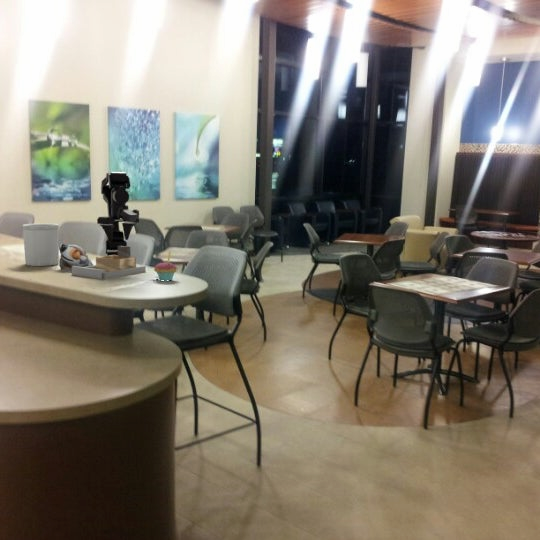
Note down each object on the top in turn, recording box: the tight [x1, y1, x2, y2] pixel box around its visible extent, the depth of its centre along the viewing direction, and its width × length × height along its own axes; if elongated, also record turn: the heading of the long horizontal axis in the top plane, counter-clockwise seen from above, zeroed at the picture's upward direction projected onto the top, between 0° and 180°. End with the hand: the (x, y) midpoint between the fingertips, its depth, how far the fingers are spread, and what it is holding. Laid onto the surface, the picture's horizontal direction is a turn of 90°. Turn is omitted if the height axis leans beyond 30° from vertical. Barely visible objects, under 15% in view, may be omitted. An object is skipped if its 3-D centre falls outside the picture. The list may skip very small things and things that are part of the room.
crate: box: [95, 245, 137, 272], centre depth 236 cm, size 11×12×10 cm
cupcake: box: [153, 250, 178, 282], centre depth 227 cm, size 9×8×12 cm
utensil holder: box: [21, 223, 60, 267], centre depth 258 cm, size 15×15×18 cm
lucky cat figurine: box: [58, 243, 94, 271], centre depth 243 cm, size 15×12×14 cm
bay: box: [71, 264, 147, 280], centre depth 233 cm, size 23×17×4 cm
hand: (118, 240), depth 243 cm, fingers open, 9 cm apart
